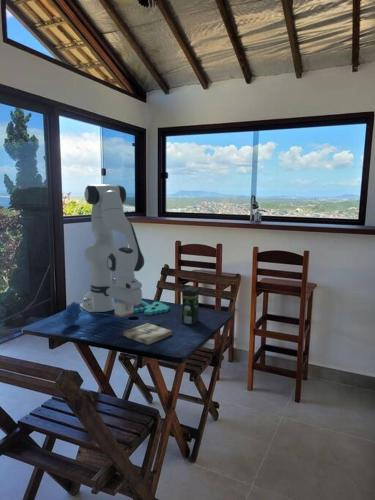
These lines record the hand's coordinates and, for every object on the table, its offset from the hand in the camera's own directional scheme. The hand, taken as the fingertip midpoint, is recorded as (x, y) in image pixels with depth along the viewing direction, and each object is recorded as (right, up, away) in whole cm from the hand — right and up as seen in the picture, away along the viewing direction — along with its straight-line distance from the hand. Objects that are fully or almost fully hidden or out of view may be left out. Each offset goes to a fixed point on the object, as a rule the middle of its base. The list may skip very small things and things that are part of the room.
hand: (124, 309), depth 173 cm
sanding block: (0, -2, 0) cm, 2 cm away
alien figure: (+10, -6, +35) cm, 37 cm away
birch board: (+12, -11, -5) cm, 17 cm away
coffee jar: (+32, -9, +15) cm, 36 cm away
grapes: (-28, -9, +6) cm, 30 cm away
